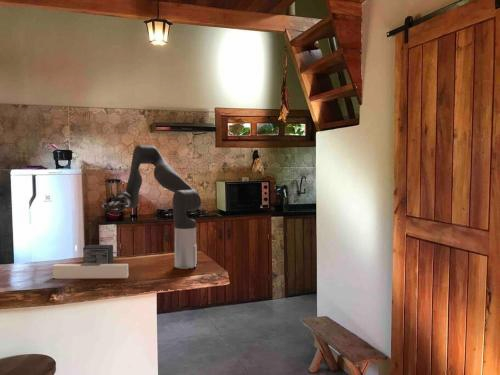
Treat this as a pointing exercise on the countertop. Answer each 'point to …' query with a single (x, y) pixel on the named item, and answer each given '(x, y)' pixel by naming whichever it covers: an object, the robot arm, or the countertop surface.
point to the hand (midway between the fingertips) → (110, 208)
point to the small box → (98, 254)
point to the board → (90, 270)
